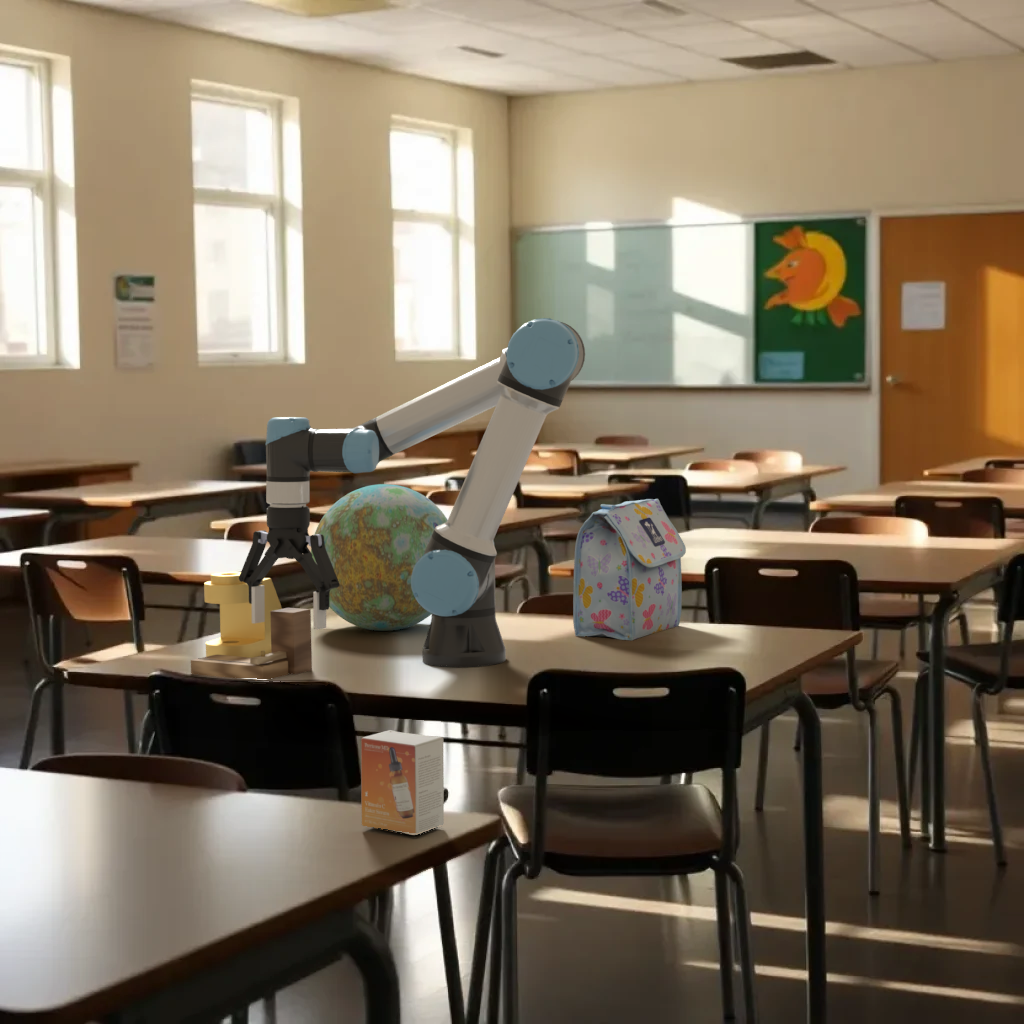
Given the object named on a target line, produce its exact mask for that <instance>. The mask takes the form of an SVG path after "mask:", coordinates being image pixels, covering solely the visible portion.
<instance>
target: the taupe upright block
mask: <svg viewBox="0 0 1024 1024" xmlns="http://www.w3.org/2000/svg"><path fill="white" fill-rule="evenodd" d="M270 614H271V653H270V654H265V651H261V656H257V657H252V658H250V664H262V663H266V662H270V661H274V660H284V661H288V675H294V676H295V675H298V674H302V673H303V674H304V673H306V672H309V671H310V672H311V671H312V670H313V660H312V659H313V657H312V654H313V653H312V619H311V618H312V616H311V615H312V613H311V608H298V607H285V608H282V609H279V610H274V611H270Z"/></svg>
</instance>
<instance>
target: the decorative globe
mask: <svg viewBox="0 0 1024 1024" xmlns="http://www.w3.org/2000/svg"><path fill="white" fill-rule="evenodd" d="M447 521H448V518H447V517H446V515H445V514H444V513H443V511H442V510H441V509H440V508H439V507H438V506H437V505H436V504H435V502H434V501H432V500H431V499H429V498H428V497H427V496H425V495H424V494H422V493H421V492H418V491H416V490H415V489H412V488H409V487H406V486H401V485H397V484H390V483H389V484H388V483H378V484H372V485H366V486H362V487H360V488H358V489H355V490H353V491H351V492H348V493H347V494H346V495H344V496H342V497H341V498H339V500H337V501H336V502H335V503H333V504H332V505H331V506H330V508H329V509H327V510H326V512H325V513H324V515H323V516H322V518H321V520H320V521H319V523H318V524H317V527H316V530H315V531H314V534H313V535H316V534H322V535H323V536H324V543H325V548H326V551H327V553H328V556H329V558H330V561H331V563H332V566H333V569H334V571H335V574H336V576H337V579H338V581H339V587H337V588H334V589H331V590H330V593H329V609H331V610H332V611H333V613H335V614H336V615H337V616H339V617H340V618H341V619H342V620H343V621H346V622H347V623H349V624H352V625H354V626H355V627H358V628H361V629H364V630H369V631H373V630H374V631H373V632H375V631H376V632H393V630H395V631H400V629H401V630H404V629H407V628H410V627H413V626H415V625H417V624H419V623H421V622H422V621H424V620H426V619H427V618H428V617H430V616H432V613H430V612H428V611H427V610H425V609H424V608H423V607H422V606H421V605H420V604H419V603H418V602H417V600H416V598H415V597H414V594H413V592H412V588H411V576H412V572H413V568H414V566H415V564H416V563H417V562H418V560H419V559H420V558H421V557H422V556H423V555H424V552H425V550H426V548H427V545H428V543H429V541H430V538H431V536H432V534H433V532H434V529H435V527H437V526H439V525H441V524H444V523H446V522H447ZM310 552H311V554H312V558H313V559H314V561H315V558H314V556H313V553H312V550H311V549H310ZM315 562H316V561H315ZM316 564H317V563H316Z"/></svg>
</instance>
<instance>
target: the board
mask: <svg viewBox="0 0 1024 1024" xmlns="http://www.w3.org/2000/svg"><path fill="white" fill-rule="evenodd" d="M191 673H192V674H191ZM190 674H191V675H197V674H198V675H197V676H208V677H210V676H211V677H217V678H228V679H237V678H257V679H270V680H272V679H271V678H273V679H276V678H281V677H284V676H288V675H289V674H288V661H284V660H274V661H270V662H266V663H262V664H250V657H239V656H228V655H212V656H208V657H206V656H203V657H198V658H195V659H190Z"/></svg>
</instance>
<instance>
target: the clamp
mask: <svg viewBox="0 0 1024 1024" xmlns="http://www.w3.org/2000/svg"><path fill="white" fill-rule="evenodd" d="M240 573H241V571H228V572H227V571H225V572H215V573H211V574H210V580H208V581H205V582H204V583H203V584H204V585H203V589H204V591H203V592H204V593H203V594H204V596H203V597H204V603H207V604H212V605H214V604H216V605H219V618H220V619H219V621H220V623H219V625H220V627H219V628H220V629H219V631H220V633H219V634H220V637H218V638H215V639H211V640H209V641H206V642H205V657H208V656H212V655H228V656H239V657H250V658H252V657H257V656H261V651H265V654H270V653H271V614H270V611H274V610H279V609H283V608H282V605H281V602H280V598H279V597H278V594H277V591H276V588H275V586H274V583H273V580H272V578H271V577H264V579H263V580H262V582H261V583H262V584H260V585H264V601H265V622H260V623H252V604H250V603H249V587H248V585H247V583H245V582H241V581H240V580H239V576H240ZM260 585H259V586H260Z"/></svg>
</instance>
